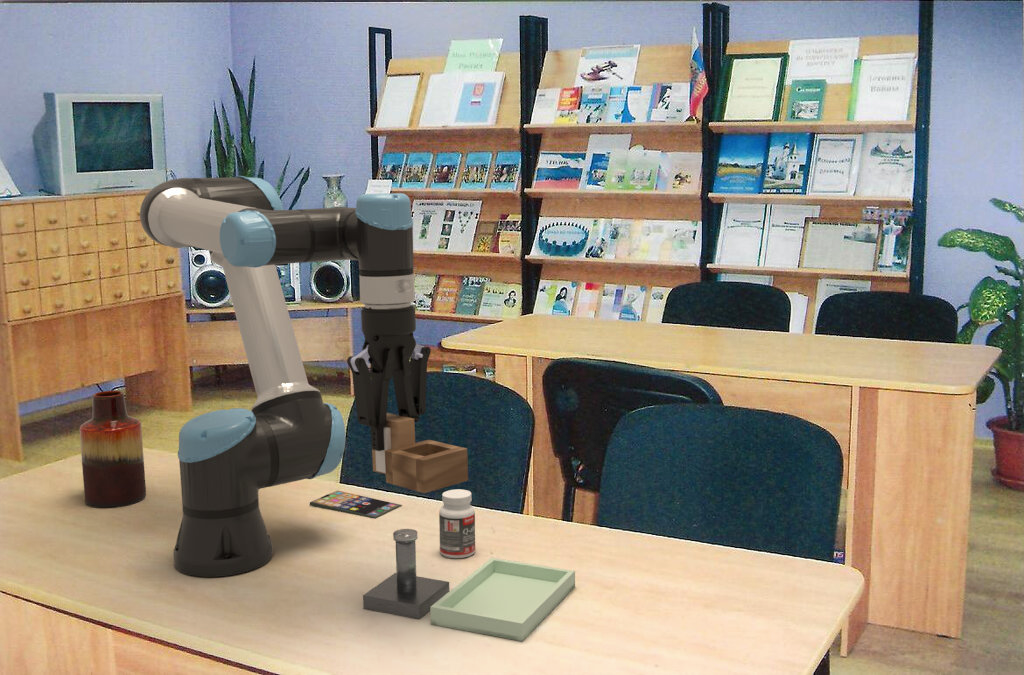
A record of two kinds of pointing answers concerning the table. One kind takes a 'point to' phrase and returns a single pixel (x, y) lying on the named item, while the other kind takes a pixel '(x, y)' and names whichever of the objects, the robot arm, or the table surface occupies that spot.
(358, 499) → the smartphone
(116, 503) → the vase
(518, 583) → the tray
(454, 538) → the pill bottle
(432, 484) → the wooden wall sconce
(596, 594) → the table surface
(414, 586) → the grey peg stand
